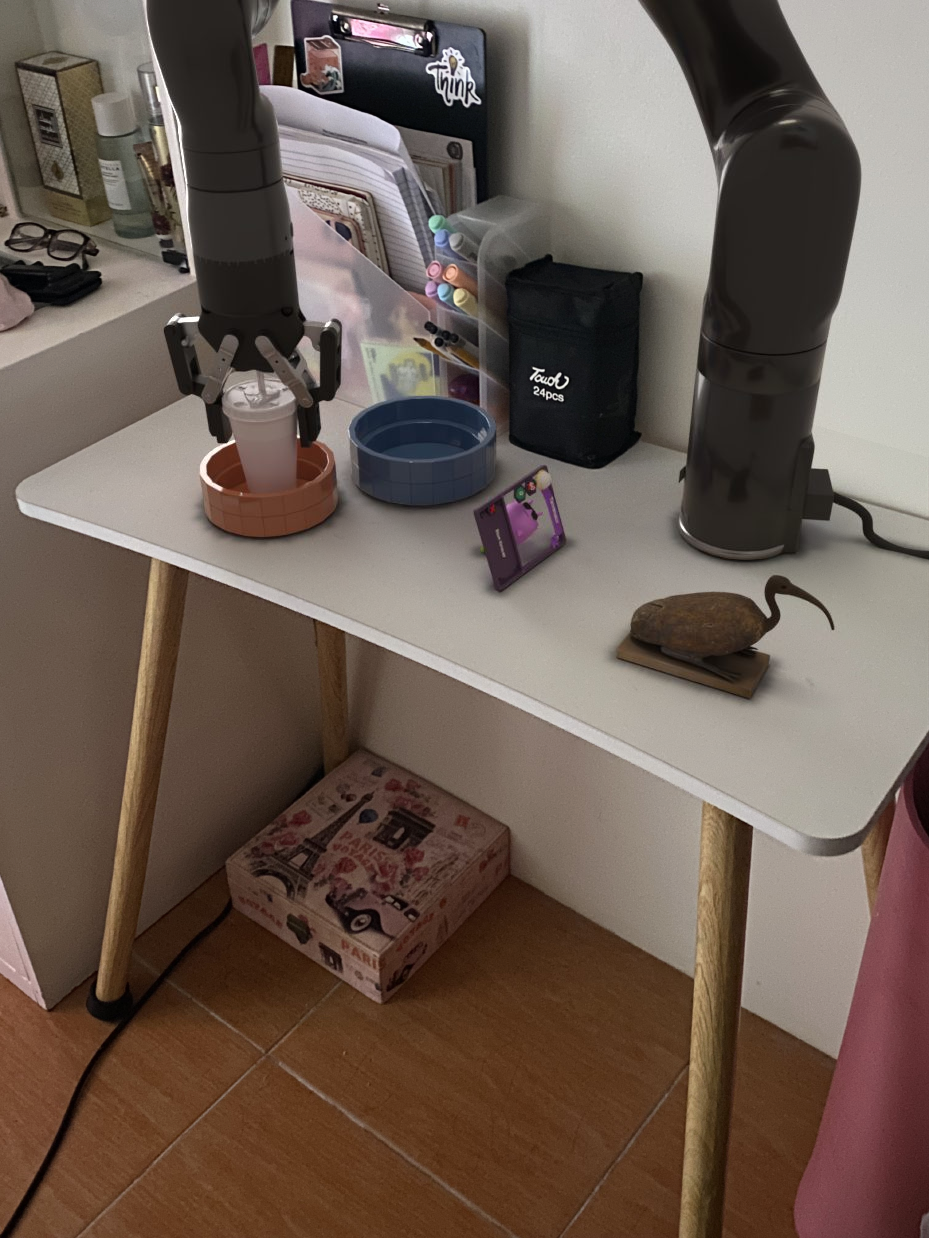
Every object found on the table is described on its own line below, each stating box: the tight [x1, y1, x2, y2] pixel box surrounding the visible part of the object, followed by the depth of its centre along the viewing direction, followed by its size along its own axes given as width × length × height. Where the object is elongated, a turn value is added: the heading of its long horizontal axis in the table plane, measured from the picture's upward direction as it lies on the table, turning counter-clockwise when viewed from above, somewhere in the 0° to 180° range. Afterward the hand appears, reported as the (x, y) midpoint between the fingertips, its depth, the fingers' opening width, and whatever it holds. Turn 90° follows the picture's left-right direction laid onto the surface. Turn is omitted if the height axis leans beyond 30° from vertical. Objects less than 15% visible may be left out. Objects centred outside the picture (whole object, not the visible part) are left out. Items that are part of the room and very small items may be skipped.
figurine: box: [615, 574, 836, 699], centre depth 83 cm, size 14×4×9 cm, turn 61°
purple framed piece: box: [472, 464, 567, 591], centre depth 96 cm, size 7×5×9 cm
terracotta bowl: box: [198, 434, 339, 538], centre depth 103 cm, size 11×11×4 cm
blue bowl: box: [347, 395, 497, 506], centre depth 107 cm, size 13×13×4 cm
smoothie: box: [222, 370, 299, 494], centre depth 100 cm, size 6×6×14 cm
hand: (266, 441), depth 101 cm, fingers closed on smoothie, 6 cm apart
